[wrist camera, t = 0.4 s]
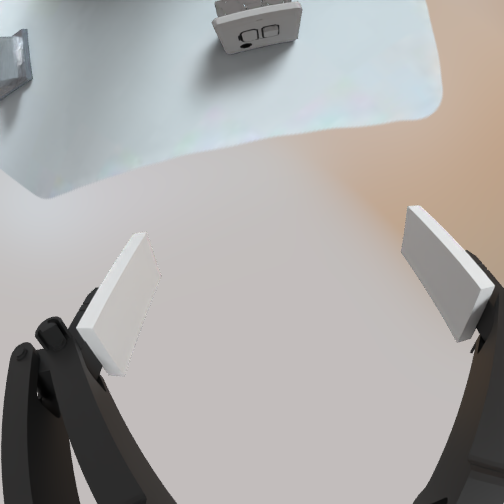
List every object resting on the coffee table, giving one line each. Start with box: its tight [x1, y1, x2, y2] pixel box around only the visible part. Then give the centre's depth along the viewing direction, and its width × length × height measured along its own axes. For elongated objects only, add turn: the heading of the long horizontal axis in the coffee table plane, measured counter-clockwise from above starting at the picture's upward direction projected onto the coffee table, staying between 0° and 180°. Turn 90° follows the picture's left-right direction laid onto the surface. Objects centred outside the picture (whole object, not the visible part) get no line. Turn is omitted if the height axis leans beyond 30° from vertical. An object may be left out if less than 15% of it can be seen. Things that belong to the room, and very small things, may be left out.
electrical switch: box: [212, 0, 302, 54], centre depth 26 cm, size 9×5×9 cm, turn 105°
